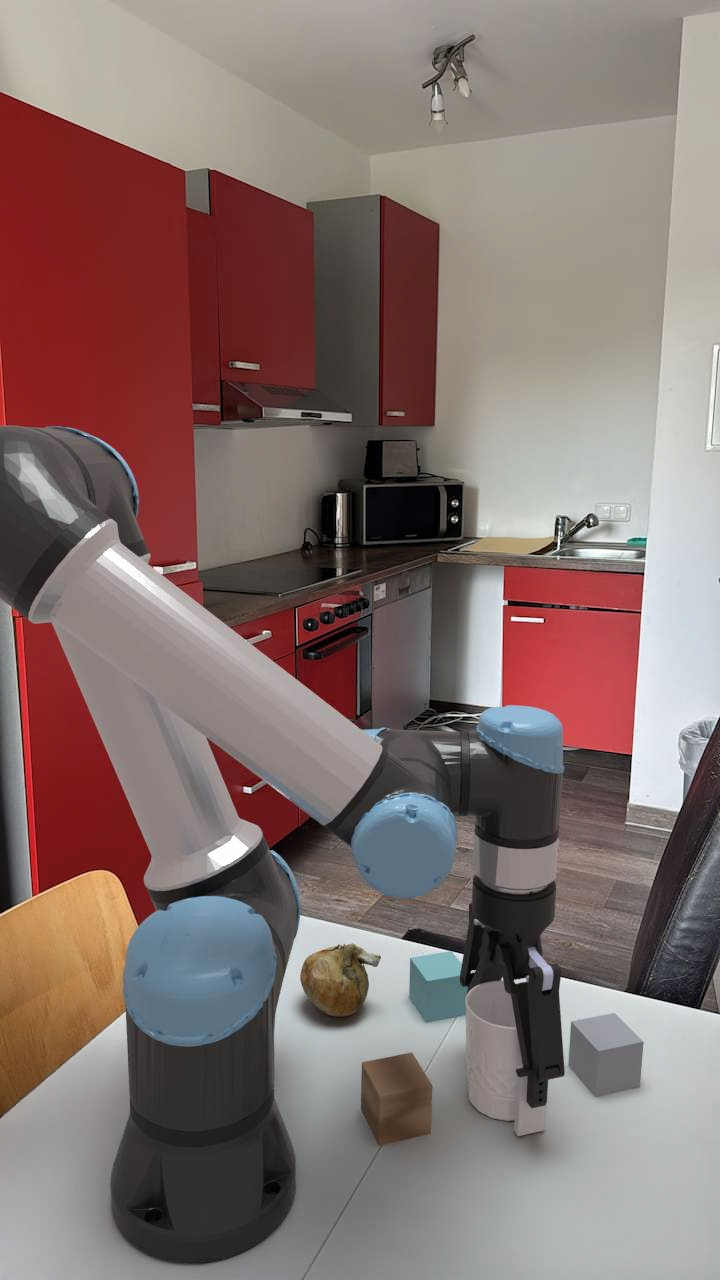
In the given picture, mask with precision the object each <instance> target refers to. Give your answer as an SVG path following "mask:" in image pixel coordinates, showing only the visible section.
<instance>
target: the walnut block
mask: <svg viewBox="0 0 720 1280" xmlns="http://www.w3.org/2000/svg"><path fill="white" fill-rule="evenodd" d="M360 1081H361V1083H360V1084H361V1085H360V1088H361V1089H360V1091H361V1092H360V1097H361V1098H360V1110H361V1113H362V1115H363V1116H364V1118H365V1120H366V1122H367V1124H368V1127H369V1129H370V1131H371V1132H372V1135H373V1137H374V1139H375V1141H376V1143H377V1145H378V1146H383V1145H388V1144H391V1143H392V1144H393V1143H397V1142H401V1141H406V1140H410V1139H414V1138H418V1137H423V1136H427V1135H431V1134H432V1114H433V1113H432V1110H433V1084H432V1082H431V1081H430V1079H429V1078H428V1075H427V1074H426V1072H425V1071H424V1069H423V1068H422V1066H421V1065H420V1063H419V1062H418V1059H417V1058H416V1057H415V1055H414V1053H413V1052H408V1053H402V1054H397V1055H396V1054H395V1055H391V1056H388V1057H387V1056H386V1057H382V1058H376V1059H373V1060H371V1059H370V1060H367V1061H362V1062H361V1080H360Z"/></svg>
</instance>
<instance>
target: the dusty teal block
mask: <svg viewBox="0 0 720 1280" xmlns="http://www.w3.org/2000/svg"><path fill="white" fill-rule="evenodd" d="M461 967H462V961H460V960H459V959H458V957H457V956H456V955H455V954H454V953H453V951H452V950H451V951H450V950H449V951H444V952H437V953H430V954H426V955H425V954H423V955H420V956H419V955H418V956H413V957H412V956H411V957H409V985H408V986H409V989H408V991H409V992H408V993H409V994H408V998H409V1000H410V1001H411V1003H412V1004H413V1006H414V1007H415V1009H416V1011H418V1013H419V1015H420V1016H421V1017H422V1019H423V1020H424V1022H425V1023H431V1022H436V1021H437V1022H438V1021H442V1020H448V1019H453V1018H457V1017H463V1016H466V996H467V991H468V988H467V986H466V987H462V986H461V984H460V972H461Z"/></svg>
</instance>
